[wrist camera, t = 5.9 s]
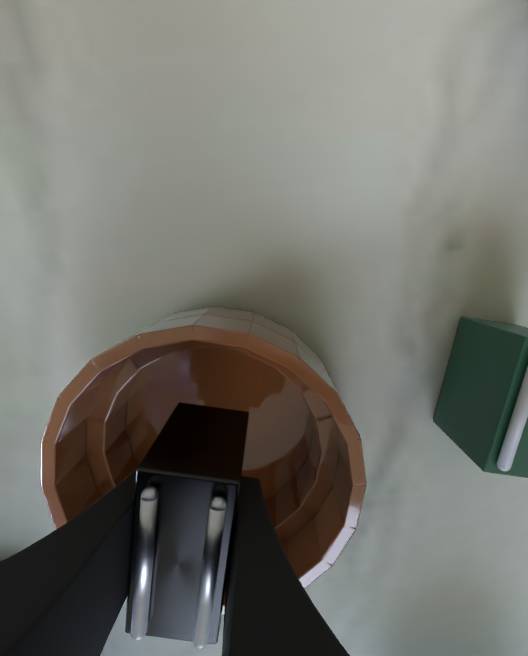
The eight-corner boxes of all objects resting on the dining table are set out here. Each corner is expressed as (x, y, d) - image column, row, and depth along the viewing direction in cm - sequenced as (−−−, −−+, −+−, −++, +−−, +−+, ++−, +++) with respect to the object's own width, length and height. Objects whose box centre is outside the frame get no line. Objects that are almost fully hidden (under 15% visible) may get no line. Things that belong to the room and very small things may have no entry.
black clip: (232, 532, 13) (214, 664, 9) (166, 523, 13) (117, 651, 9) (249, 410, 12) (239, 494, 8) (178, 401, 12) (128, 479, 8)
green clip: (484, 428, 16) (562, 489, 12) (432, 421, 16) (490, 479, 12) (516, 324, 15) (613, 350, 11) (460, 316, 15) (534, 339, 10)
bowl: (316, 535, 17) (332, 633, 13) (99, 507, 17) (39, 595, 12) (359, 325, 15) (398, 353, 10) (109, 289, 15) (40, 303, 10)
